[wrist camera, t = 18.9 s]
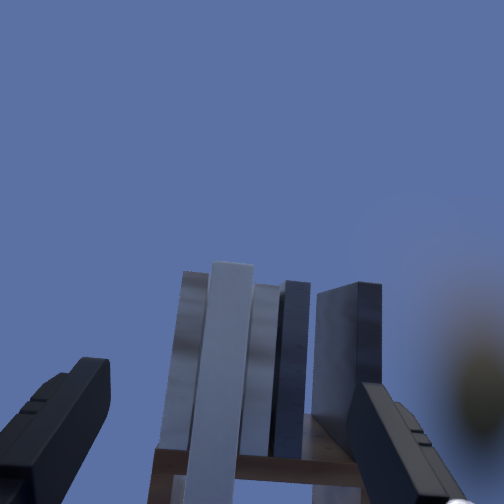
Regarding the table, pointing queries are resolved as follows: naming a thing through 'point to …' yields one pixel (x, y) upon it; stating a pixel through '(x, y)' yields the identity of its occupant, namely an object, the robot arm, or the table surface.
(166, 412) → the book stand
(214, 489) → the white book
